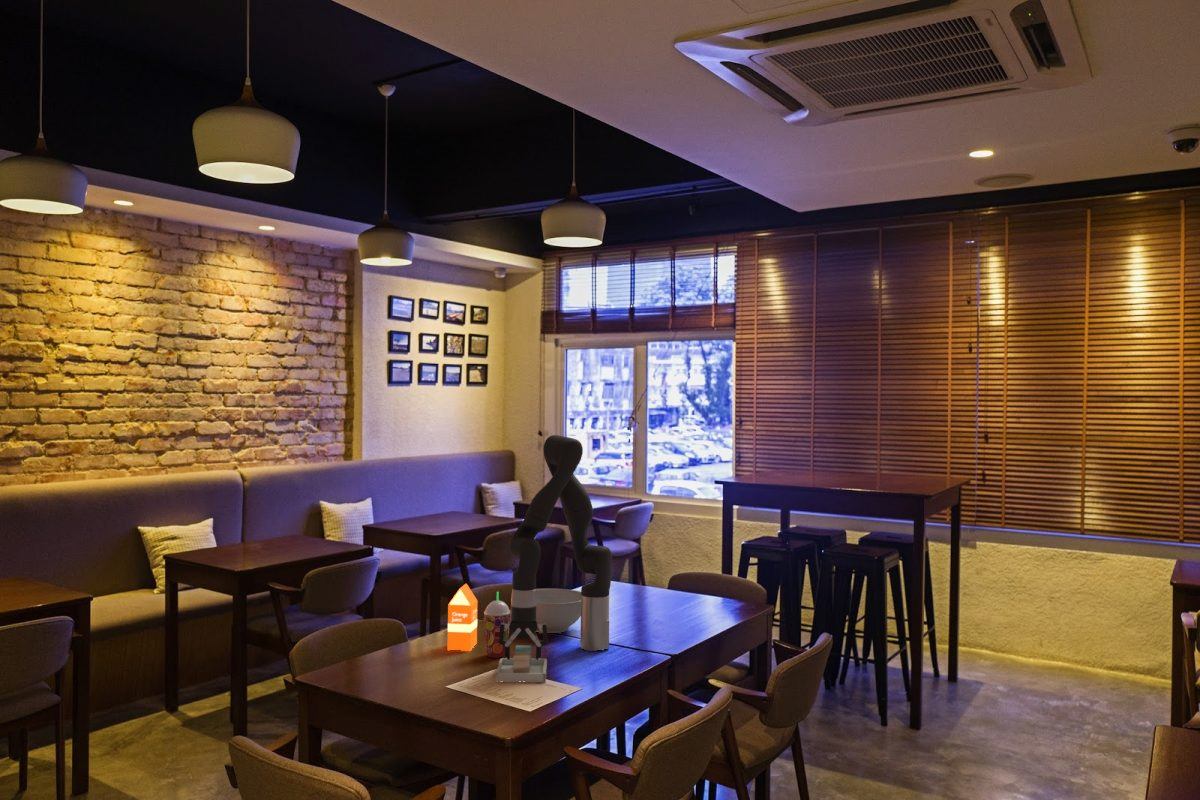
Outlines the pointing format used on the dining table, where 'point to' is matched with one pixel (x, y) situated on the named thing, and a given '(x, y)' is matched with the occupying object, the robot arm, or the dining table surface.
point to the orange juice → (462, 620)
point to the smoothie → (496, 627)
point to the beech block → (521, 662)
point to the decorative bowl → (557, 609)
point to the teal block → (524, 649)
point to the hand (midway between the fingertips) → (523, 658)
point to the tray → (534, 675)
